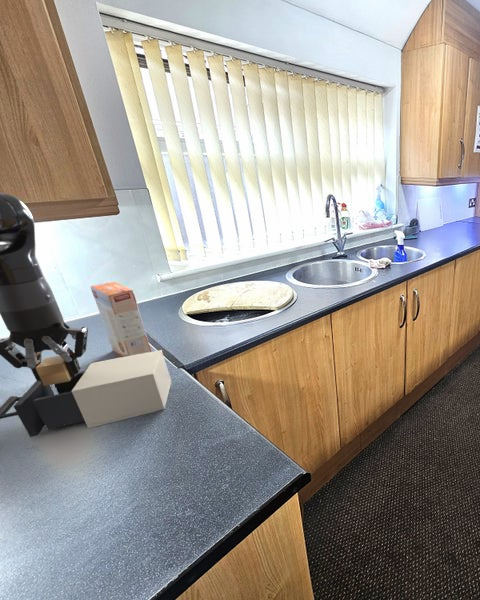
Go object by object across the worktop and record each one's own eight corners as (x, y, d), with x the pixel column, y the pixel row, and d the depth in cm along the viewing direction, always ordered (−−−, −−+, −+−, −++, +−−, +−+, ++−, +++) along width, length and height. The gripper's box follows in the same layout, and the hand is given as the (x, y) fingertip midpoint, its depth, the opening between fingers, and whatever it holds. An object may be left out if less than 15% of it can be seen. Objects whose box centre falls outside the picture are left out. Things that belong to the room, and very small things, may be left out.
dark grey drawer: (-5, 446, 63) (-24, 414, 61) (23, 413, 72) (7, 383, 69) (108, 418, 71) (96, 388, 68) (121, 391, 79) (110, 363, 76)
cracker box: (154, 355, 96) (133, 289, 89) (130, 365, 92) (106, 295, 84) (135, 342, 104) (115, 280, 96) (112, 350, 99) (88, 285, 91)
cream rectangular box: (88, 428, 69) (71, 391, 66) (104, 397, 79) (91, 362, 75) (164, 409, 75) (153, 373, 71) (171, 382, 84) (161, 349, 81)
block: (44, 386, 66) (35, 367, 65) (52, 376, 70) (44, 358, 68) (69, 381, 68) (61, 363, 66) (77, 371, 71) (69, 353, 70)
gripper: (82, 291, 69) (108, 361, 75) (-14, 302, 63) (23, 377, 69) (68, 303, 62) (98, 378, 69) (-40, 316, 56) (3, 397, 63)
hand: (60, 377), depth 69 cm, fingers closed on block, 4 cm apart
